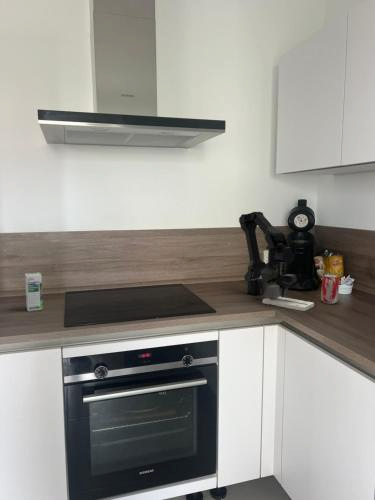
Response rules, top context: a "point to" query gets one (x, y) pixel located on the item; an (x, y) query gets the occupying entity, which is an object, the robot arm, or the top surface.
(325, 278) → the soda can
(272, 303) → the fader panel
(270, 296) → the fader knob
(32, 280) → the syrup box
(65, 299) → the top surface
